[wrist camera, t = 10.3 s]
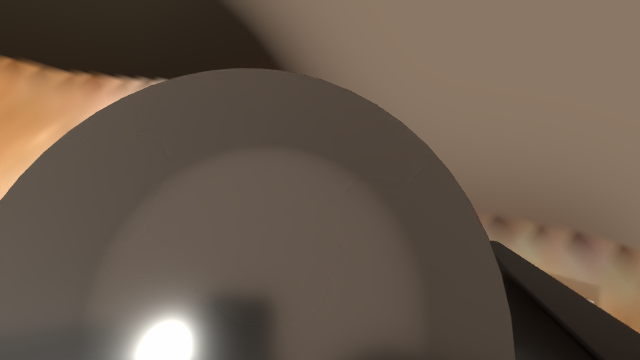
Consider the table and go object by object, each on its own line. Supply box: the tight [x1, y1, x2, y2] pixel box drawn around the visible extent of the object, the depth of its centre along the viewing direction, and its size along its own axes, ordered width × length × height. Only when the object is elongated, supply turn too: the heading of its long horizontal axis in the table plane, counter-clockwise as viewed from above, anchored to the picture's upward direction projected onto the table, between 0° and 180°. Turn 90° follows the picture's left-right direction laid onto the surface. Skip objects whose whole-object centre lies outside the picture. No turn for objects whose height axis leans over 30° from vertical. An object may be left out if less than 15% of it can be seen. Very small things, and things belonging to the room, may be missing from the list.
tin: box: [0, 68, 515, 360], centre depth 9 cm, size 6×6×13 cm
